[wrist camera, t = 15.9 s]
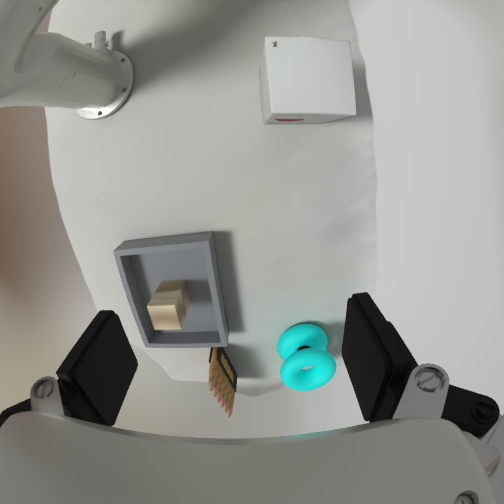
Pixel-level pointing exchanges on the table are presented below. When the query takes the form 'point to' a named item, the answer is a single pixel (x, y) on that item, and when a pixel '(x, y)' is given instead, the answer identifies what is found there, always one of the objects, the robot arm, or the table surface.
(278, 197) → the table surface
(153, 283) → the tray
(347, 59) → the supplement box
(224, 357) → the ammunition clip
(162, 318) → the birch block
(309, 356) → the donuts
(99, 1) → the table surface
